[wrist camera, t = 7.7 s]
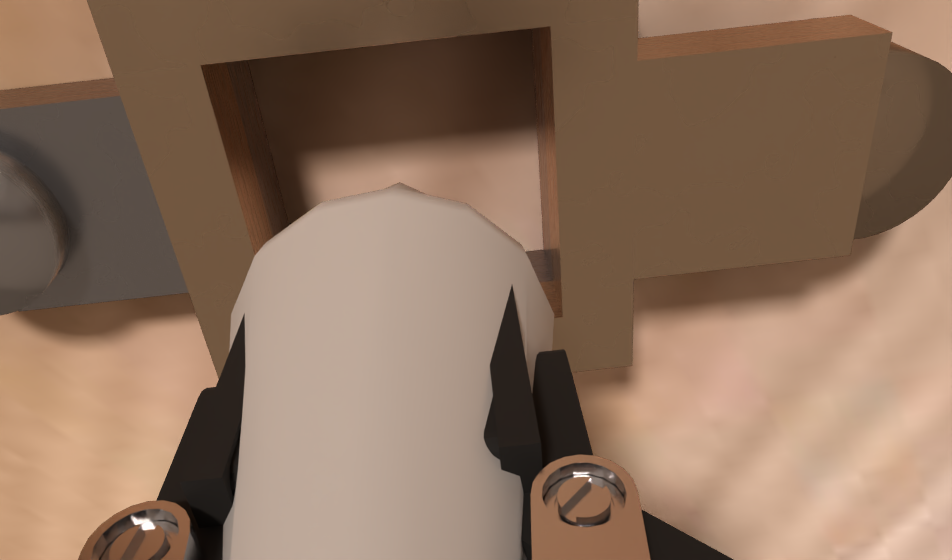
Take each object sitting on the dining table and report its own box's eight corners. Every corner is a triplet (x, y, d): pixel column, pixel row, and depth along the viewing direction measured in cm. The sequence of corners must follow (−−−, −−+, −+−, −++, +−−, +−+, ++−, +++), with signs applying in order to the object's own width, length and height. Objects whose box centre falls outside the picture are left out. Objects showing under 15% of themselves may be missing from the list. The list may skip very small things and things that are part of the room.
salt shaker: (381, 422, 18) (301, 1423, 7) (198, 256, 15) (-438, 1432, 4) (589, 292, 16) (945, 1320, 5) (424, 83, 14) (400, 1226, 2)
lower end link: (602, -96, 19) (629, -85, 17) (604, 294, 25) (624, 345, 23) (-184, -8, 19) (-278, 15, 17) (9, 360, 25) (-38, 418, 23)
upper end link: (927, -132, 19) (1036, -125, 16) (851, 267, 25) (917, 334, 22) (142, -45, 19) (80, -19, 16) (256, 332, 25) (229, 410, 22)
